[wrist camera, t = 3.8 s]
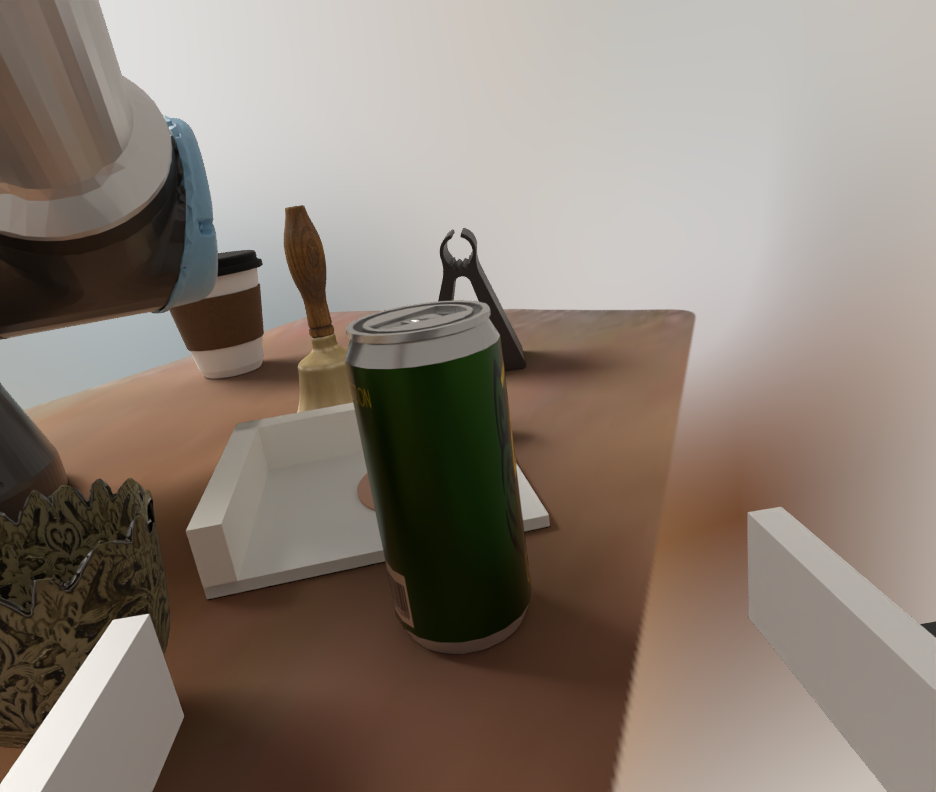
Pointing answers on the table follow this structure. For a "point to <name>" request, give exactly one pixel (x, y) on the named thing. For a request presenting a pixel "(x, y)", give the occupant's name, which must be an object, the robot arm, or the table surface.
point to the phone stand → (480, 297)
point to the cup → (71, 591)
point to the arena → (295, 504)
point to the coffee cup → (226, 319)
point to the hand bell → (315, 317)
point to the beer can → (442, 471)
